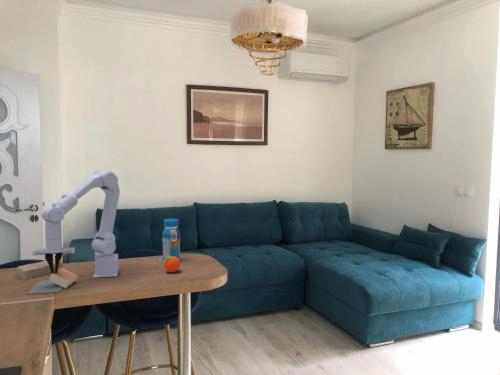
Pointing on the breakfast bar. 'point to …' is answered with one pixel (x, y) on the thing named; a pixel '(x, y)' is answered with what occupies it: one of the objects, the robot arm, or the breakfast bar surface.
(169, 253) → the beverage bottle
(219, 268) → the breakfast bar surface
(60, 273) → the slab
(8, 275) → the breakfast bar surface
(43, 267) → the brick
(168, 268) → the clementine
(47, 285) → the mat
